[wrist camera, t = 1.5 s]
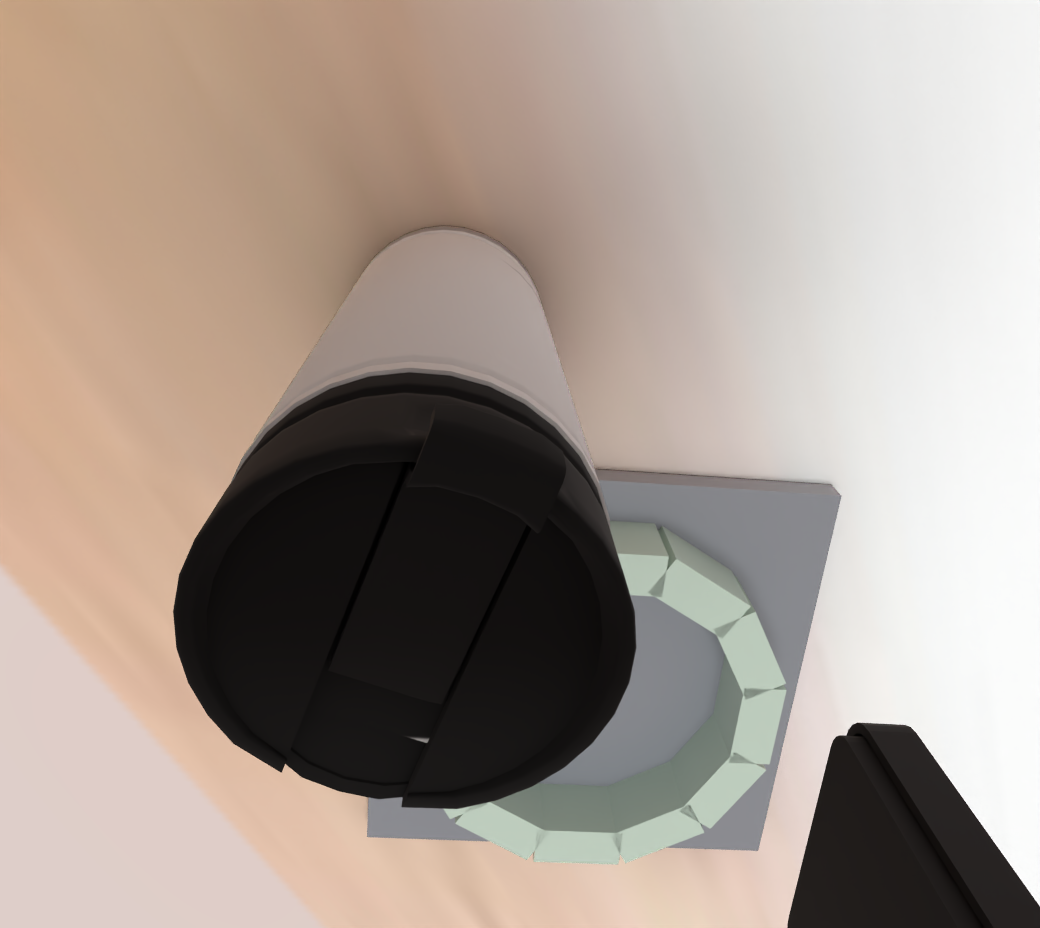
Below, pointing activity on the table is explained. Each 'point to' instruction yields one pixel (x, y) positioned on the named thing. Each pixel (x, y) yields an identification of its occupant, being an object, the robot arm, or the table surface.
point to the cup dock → (676, 679)
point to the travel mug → (415, 548)
